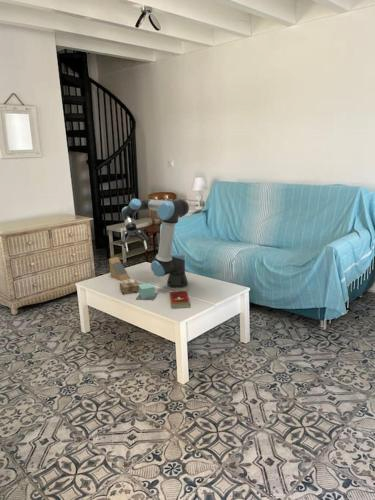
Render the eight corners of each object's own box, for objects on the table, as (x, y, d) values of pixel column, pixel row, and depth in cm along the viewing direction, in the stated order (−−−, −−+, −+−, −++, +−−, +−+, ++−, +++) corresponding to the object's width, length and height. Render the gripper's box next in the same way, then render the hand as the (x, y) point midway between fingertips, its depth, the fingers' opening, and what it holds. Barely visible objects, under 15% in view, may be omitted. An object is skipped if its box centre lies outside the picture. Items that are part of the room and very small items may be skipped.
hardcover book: (187, 296, 269) (187, 290, 268) (189, 308, 249) (189, 301, 248) (169, 297, 268) (169, 291, 267) (170, 309, 248) (170, 302, 247)
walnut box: (136, 287, 288) (135, 277, 287) (140, 292, 278) (139, 282, 277) (120, 289, 284) (119, 280, 283) (123, 294, 274) (122, 284, 273)
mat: (157, 293, 274) (157, 293, 274) (153, 300, 263) (153, 299, 262) (140, 293, 276) (140, 292, 276) (135, 299, 265) (135, 298, 264)
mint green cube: (151, 292, 275) (151, 283, 273) (155, 297, 267) (154, 287, 265) (138, 294, 272) (138, 284, 270) (142, 299, 264) (141, 289, 262)
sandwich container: (121, 281, 303) (120, 262, 299) (110, 277, 313) (108, 258, 310) (130, 278, 309) (129, 259, 305) (119, 274, 319) (118, 256, 316)
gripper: (146, 227, 297) (153, 251, 287) (113, 230, 288) (119, 255, 279) (148, 221, 291) (155, 245, 281) (114, 224, 282) (120, 249, 272)
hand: (137, 250), depth 280 cm, fingers open, 13 cm apart
